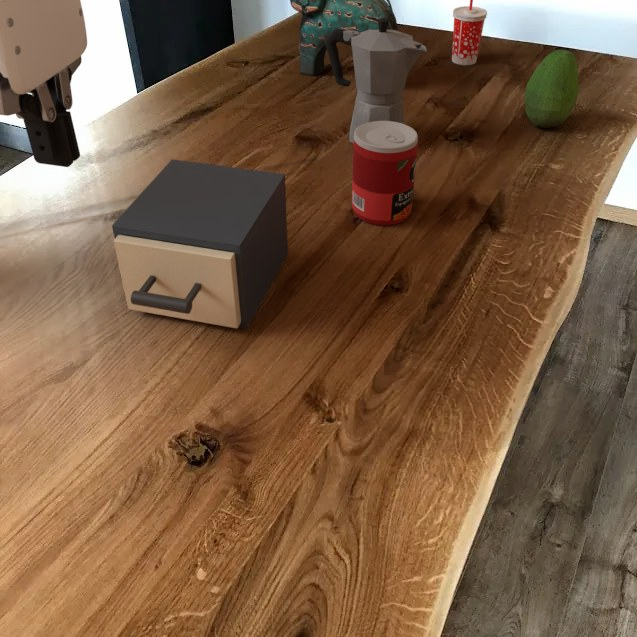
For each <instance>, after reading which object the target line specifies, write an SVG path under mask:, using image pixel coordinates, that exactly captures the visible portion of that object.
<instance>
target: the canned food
mask: <svg viewBox="0 0 637 637" xmlns="http://www.w3.org/2000/svg"><path fill="white" fill-rule="evenodd" d="M418 144H419V135H418V132H417V131H416V130H415V129H414V128H413V127H411V126H409V125H407V124H405V123H404V124H402V123H398V122H392V121H374V122H369V123H365V124H362V125H360V126H359V127H358V128H356V130H355V132H354V143H353V144H352V176H351V178H352V180H351V182H352V183H351V184H352V185H351V206H352V210H353V213H354V215H355V216H356V217H357V218H358V219H359V220H361V221H363V222H365V223H368V224H371V225H375V226H393V225H394V226H395V225H397V224H400V223H402V222H404V221H406V220H407V219H408V218H409V216H410V214H411V212H412V209H413V201H414V200H413V199H414V189H415V188H414V187H415V179H416V169H417V167H416V166H417V158H418V157H417V156H418V146H419V145H418Z"/></svg>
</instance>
